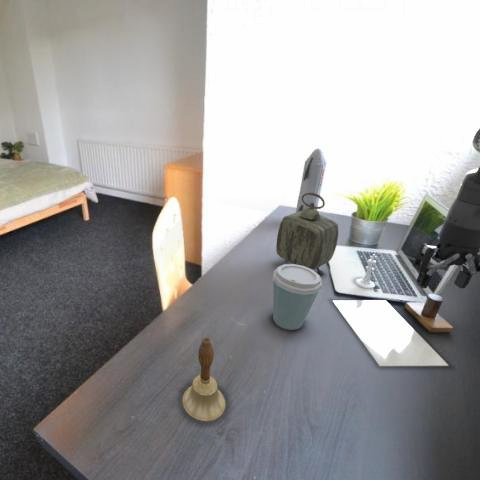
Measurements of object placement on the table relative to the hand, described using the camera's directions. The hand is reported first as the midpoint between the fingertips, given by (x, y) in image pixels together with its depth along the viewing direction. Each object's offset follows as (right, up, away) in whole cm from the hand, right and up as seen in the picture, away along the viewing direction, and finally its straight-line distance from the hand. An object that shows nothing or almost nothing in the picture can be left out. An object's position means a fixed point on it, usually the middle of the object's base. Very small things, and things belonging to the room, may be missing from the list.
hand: (440, 286), depth 76 cm
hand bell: (-56, -20, -13) cm, 61 cm away
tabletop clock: (-21, +1, +27) cm, 34 cm away
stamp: (0, -10, +5) cm, 11 cm away
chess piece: (-5, -3, +19) cm, 20 cm away
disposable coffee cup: (-33, -10, +6) cm, 35 cm away
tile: (-12, -11, +3) cm, 16 cm away
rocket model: (-7, +16, +57) cm, 60 cm away
